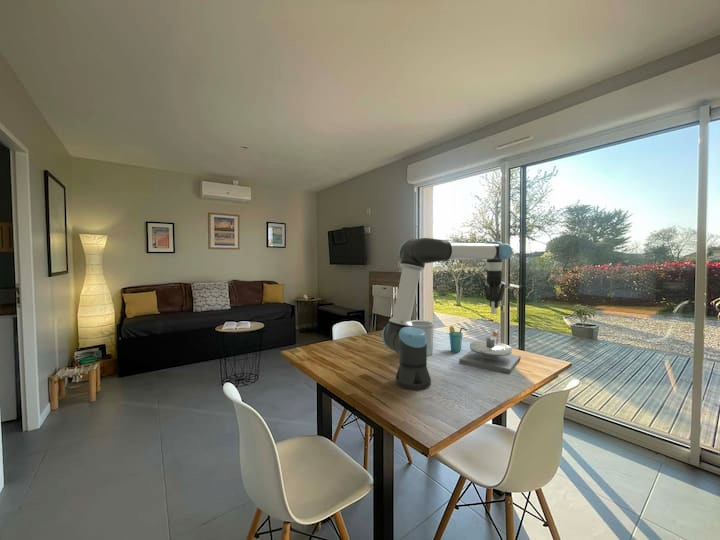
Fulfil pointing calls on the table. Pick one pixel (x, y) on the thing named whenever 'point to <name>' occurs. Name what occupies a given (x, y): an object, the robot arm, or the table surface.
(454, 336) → the cup
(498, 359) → the stand
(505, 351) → the handwheel
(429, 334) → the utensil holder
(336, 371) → the table surface
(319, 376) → the table surface
